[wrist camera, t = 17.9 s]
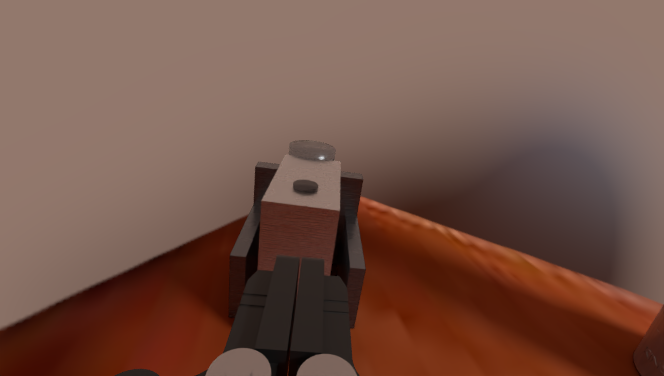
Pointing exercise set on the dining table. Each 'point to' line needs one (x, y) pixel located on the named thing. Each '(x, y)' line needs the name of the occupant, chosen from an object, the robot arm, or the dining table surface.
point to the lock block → (300, 212)
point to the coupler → (347, 235)
